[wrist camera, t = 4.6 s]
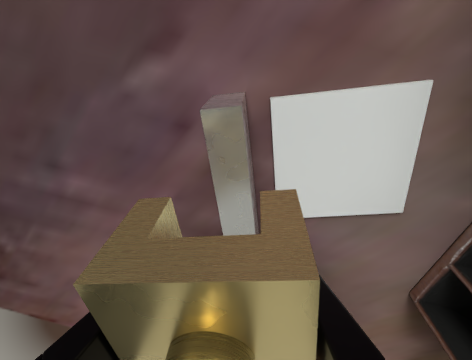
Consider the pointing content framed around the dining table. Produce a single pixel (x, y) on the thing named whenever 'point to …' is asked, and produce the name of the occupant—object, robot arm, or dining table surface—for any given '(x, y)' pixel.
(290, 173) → the pad
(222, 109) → the flange rail
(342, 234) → the dining table surface
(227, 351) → the clip saddle
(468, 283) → the letter holder
